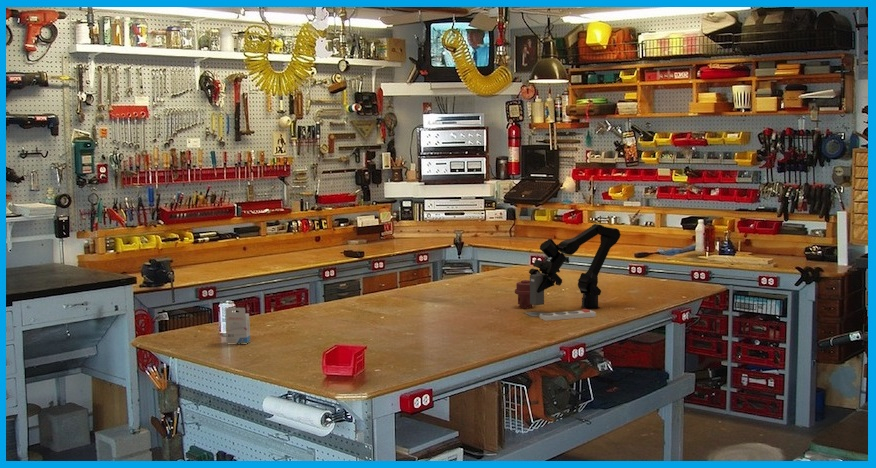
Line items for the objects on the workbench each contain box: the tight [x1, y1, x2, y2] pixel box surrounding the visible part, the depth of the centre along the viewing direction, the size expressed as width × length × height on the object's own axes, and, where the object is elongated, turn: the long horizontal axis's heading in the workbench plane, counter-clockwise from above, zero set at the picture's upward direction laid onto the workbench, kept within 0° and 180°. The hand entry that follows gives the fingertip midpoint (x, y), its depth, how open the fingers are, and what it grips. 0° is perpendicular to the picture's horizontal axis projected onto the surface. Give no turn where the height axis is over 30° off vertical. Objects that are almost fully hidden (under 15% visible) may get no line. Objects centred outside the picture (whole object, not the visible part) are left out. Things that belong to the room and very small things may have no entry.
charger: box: [529, 274, 545, 306], centre depth 455 cm, size 5×4×13 cm
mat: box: [524, 311, 545, 318], centre depth 456 cm, size 8×8×1 cm
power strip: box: [539, 308, 597, 322], centre depth 448 cm, size 24×6×3 cm, turn 107°
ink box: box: [224, 307, 251, 344], centre depth 406 cm, size 8×5×15 cm, turn 83°
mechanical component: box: [514, 279, 533, 310], centre depth 473 cm, size 12×10×10 cm
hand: (534, 291), depth 454 cm, fingers closed on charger, 4 cm apart
